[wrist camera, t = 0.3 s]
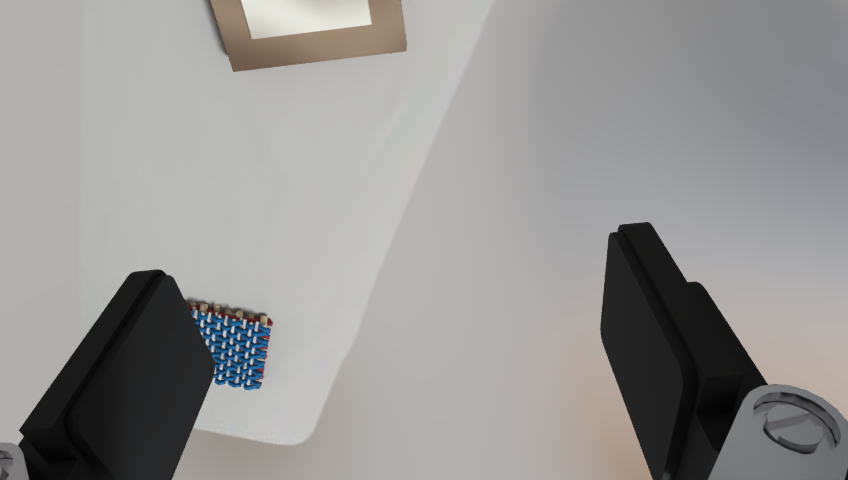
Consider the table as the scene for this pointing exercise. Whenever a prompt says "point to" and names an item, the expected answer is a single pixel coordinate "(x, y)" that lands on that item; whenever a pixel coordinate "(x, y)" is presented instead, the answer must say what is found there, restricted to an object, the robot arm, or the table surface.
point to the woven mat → (234, 344)
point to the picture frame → (307, 30)
